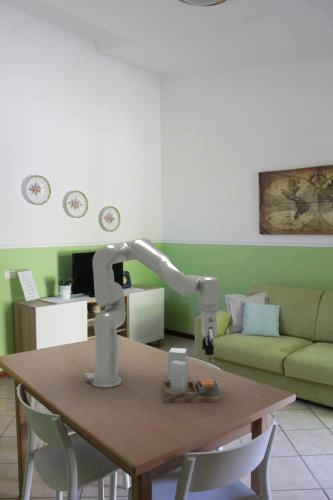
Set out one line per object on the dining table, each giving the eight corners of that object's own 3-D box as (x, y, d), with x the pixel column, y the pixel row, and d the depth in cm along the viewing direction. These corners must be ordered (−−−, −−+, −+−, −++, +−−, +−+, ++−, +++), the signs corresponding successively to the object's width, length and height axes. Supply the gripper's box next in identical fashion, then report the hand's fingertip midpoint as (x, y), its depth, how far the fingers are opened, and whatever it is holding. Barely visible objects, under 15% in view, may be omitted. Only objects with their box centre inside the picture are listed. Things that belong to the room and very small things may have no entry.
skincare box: (188, 391, 174) (188, 362, 173) (184, 395, 170) (184, 365, 169) (174, 388, 176) (174, 359, 175) (169, 392, 172) (170, 362, 172)
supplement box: (184, 381, 189) (184, 353, 188) (167, 380, 190) (167, 351, 189) (186, 376, 196) (187, 348, 195) (170, 374, 197) (171, 347, 197)
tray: (163, 403, 165) (163, 391, 165) (161, 389, 179) (161, 378, 179) (220, 402, 167) (220, 390, 167) (213, 388, 181) (213, 378, 181)
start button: (201, 390, 171) (201, 384, 171) (199, 385, 176) (199, 379, 176) (214, 390, 171) (214, 384, 171) (212, 385, 176) (212, 379, 176)
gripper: (222, 312, 163) (221, 358, 164) (214, 303, 181) (213, 346, 182) (202, 312, 163) (201, 358, 164) (196, 303, 180) (195, 346, 181)
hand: (207, 351), depth 173 cm, fingers open, 6 cm apart
